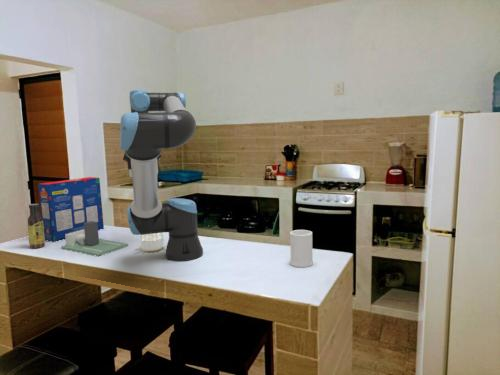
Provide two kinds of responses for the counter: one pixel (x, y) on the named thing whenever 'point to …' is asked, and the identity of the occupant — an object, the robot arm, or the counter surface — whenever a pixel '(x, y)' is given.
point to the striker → (90, 234)
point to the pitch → (96, 249)
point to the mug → (301, 248)
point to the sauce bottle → (35, 227)
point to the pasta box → (70, 206)
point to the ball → (80, 237)
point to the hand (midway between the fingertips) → (144, 175)
